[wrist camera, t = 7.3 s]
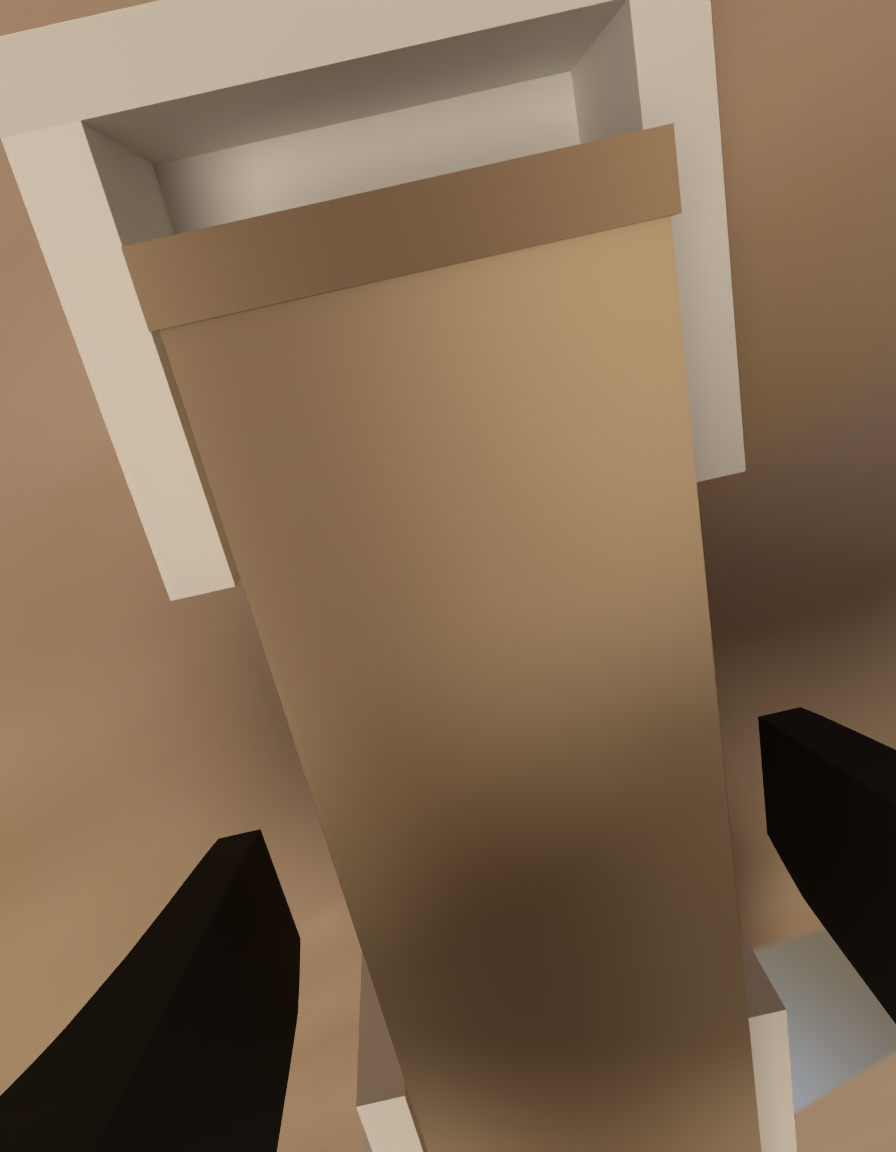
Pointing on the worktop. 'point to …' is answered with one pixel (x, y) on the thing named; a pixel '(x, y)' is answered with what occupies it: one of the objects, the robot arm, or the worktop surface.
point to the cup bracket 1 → (333, 171)
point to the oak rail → (490, 626)
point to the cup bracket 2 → (398, 1126)
